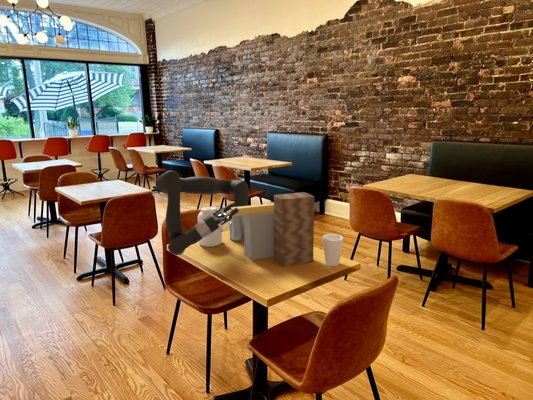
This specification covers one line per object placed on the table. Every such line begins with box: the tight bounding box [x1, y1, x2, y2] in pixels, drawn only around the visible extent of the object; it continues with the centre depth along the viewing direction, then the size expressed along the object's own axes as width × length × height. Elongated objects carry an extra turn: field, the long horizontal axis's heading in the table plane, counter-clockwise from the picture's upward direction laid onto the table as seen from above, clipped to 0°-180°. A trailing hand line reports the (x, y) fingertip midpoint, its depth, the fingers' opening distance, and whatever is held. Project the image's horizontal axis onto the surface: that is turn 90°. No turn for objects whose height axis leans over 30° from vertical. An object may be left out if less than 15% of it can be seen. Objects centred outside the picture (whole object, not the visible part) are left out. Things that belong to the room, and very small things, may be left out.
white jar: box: [197, 206, 223, 248], centre depth 215 cm, size 12×12×20 cm
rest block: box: [243, 212, 274, 261], centre depth 197 cm, size 16×10×22 cm, turn 111°
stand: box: [273, 191, 315, 267], centre depth 188 cm, size 16×10×32 cm, turn 111°
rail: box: [231, 202, 274, 216], centre depth 193 cm, size 26×4×4 cm, turn 110°
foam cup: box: [322, 233, 344, 267], centre depth 186 cm, size 10×9×13 cm
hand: (235, 207), depth 189 cm, fingers open, 8 cm apart
